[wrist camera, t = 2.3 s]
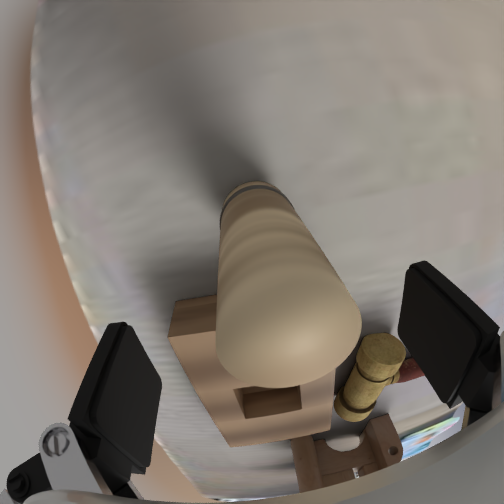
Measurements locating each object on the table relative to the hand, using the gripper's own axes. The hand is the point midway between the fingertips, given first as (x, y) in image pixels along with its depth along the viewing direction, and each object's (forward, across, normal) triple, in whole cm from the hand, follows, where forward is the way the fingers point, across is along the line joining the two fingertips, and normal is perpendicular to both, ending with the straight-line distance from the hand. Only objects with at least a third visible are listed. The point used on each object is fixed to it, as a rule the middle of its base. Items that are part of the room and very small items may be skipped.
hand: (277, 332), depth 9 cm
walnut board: (+11, +1, +14) cm, 18 cm away
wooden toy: (+12, -7, +35) cm, 38 cm away
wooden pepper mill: (+11, 0, -1) cm, 11 cm away
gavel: (+12, -17, +20) cm, 29 cm away
